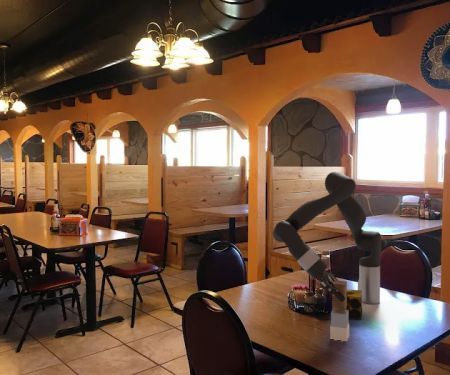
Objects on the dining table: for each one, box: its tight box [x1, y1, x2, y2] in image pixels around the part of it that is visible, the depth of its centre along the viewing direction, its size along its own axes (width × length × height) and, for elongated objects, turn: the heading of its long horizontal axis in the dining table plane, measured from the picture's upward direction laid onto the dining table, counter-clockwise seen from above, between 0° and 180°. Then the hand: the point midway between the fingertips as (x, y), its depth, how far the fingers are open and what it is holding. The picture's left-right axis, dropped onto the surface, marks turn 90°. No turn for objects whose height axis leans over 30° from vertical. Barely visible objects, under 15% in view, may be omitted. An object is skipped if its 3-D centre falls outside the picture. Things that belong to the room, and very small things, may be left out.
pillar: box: [331, 280, 348, 312], centre depth 161 cm, size 4×4×10 cm
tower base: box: [329, 322, 350, 342], centre depth 162 cm, size 6×6×5 cm
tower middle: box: [330, 310, 349, 328], centre depth 161 cm, size 6×6×5 cm
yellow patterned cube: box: [346, 288, 363, 321], centre depth 186 cm, size 10×10×10 cm
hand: (344, 298), depth 160 cm, fingers closed on pillar, 4 cm apart
